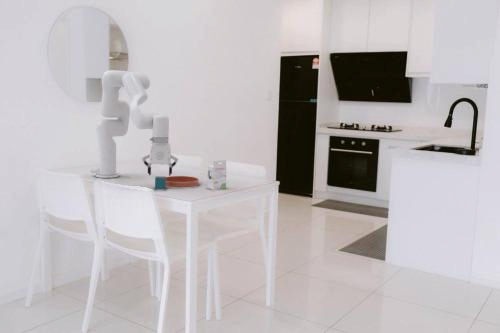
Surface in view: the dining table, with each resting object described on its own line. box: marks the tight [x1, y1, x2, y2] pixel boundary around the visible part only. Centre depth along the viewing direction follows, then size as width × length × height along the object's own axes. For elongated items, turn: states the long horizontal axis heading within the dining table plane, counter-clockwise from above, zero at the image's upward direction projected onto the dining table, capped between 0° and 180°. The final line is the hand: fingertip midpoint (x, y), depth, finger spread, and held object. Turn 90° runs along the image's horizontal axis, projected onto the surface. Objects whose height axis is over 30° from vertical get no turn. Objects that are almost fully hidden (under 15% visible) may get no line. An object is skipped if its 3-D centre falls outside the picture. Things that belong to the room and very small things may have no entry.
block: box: [154, 175, 167, 190], centre depth 232 cm, size 5×5×6 cm
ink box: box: [206, 159, 227, 190], centre depth 238 cm, size 9×5×15 cm, turn 131°
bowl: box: [165, 175, 200, 188], centre depth 246 cm, size 19×19×3 cm
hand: (159, 175), depth 232 cm, fingers open, 9 cm apart
